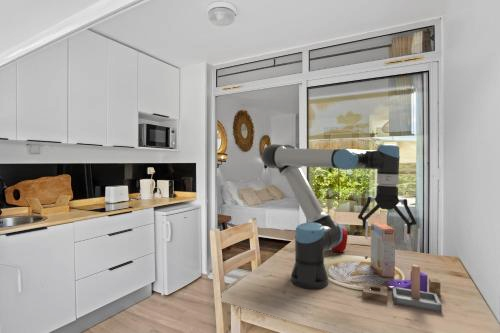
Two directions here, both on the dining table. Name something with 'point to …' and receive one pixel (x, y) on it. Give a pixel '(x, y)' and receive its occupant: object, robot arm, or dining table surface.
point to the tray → (426, 300)
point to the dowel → (415, 282)
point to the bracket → (407, 283)
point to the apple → (341, 243)
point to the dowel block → (375, 292)
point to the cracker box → (383, 249)
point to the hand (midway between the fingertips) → (385, 239)
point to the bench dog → (434, 286)
